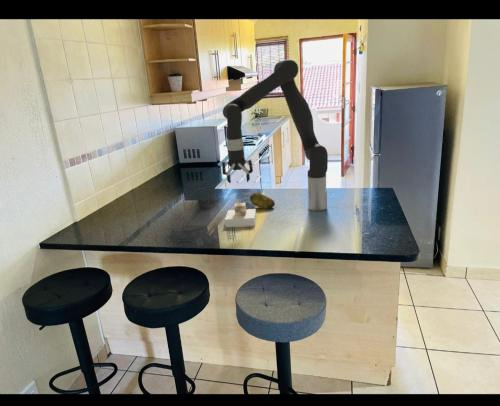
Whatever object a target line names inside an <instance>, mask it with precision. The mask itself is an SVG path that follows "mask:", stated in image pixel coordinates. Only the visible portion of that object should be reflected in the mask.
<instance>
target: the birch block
mask: <svg viewBox="0 0 500 406" xmlns="http://www.w3.org/2000/svg"><path fill="white" fill-rule="evenodd" d="M233 207H234V210H235V216H246V209H247V205H246V202H235V203H234V206H233Z"/></svg>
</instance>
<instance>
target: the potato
mask: <svg viewBox="0 0 500 406" xmlns="http://www.w3.org/2000/svg"><path fill="white" fill-rule="evenodd" d="M249 200H250V202H251V204H253V206H255V207H257V208H259V209H261V210H268V209H273V207H274V206H275V205H276V203H275V200H274V199H272V198H271V197H269V196H266V195H264V194H262V193H260V192H253V193H252V194H251V195H250V196H249Z"/></svg>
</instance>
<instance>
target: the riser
mask: <svg viewBox="0 0 500 406" xmlns="http://www.w3.org/2000/svg"><path fill="white" fill-rule="evenodd" d="M256 220H257V209H256V208H248V209H247V208H246V216H235V209H228V210H227V213H226V216H225V218H224V224H225V228H238V227H239V228H240V227H242V228H244V227H256Z"/></svg>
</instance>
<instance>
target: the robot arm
mask: <svg viewBox="0 0 500 406" xmlns="http://www.w3.org/2000/svg"><path fill="white" fill-rule="evenodd" d="M298 73H299V65H298V64H297V62H296V61H295V60H293V59H289V58H288V59H283V60H281V61H277V63H276V64H275V66H274V68H273V72H272V73H271V74H270V75H269V76H267V77H265V78H264V79H263V80H260V82H257V83H256V84H254V85H253V86H251V87H250V88H249V89H247V90H245V91H244V92H242V94H241V95H240V96H238V97H237V98H235V99H233V100H231V101H229V102H228V103H226V105H224V107H223V109H222V115H223V117H224V118H225V119H226V122H227V127H226V128H225V130H226V133H225V134H226V149H227V159H228V161H224V160H223V161H222V163H221V170H222V175H224V176H226V181H227V182H228V184H231V183H232V180H231V179H232V178H231V173H232V171H242V170H243V172H245V176H246V183H249V181H250V179H251V176H250V174H252V173H253V172H254V170H253V162H252V159H251V158H250V159H247V160H246V158H245V148H244V142H243V141H244V140H243V134H242V133H243V132H242V123H243V122H242V121H243V114H242V113H243V112H244V111H245V110H246V111H247V110H249V109H251V108H253V106H255V105H256V104H258V103H259V102H260V101H262V99H264V98H265V97H267V96H268V95H269V94H271V92H273V91H275V90H276V89H277V88H279V87H280V90H281V91H282V93H283V96H284V98H285V102H286V105H287V108H288V110H289V113H290V115H291V118H292V120H293V121H292V122H293V123H294V127H295V128H296V131H297V133H298V135H299V137H300V140H301V143H302V148H303V153H304V154H305V155H304V156H305V157H306V159H307V160H308V161H309V169H308V170H307V198H308V205H307V206H308V207H307V208H308V210H310V211H313V212H321V211H324V210H328V191H327V172H328V164H329V162H328V161H329V159H328V156H329V155H328V151H327V148H326V147H325V146H323V145H321V144H320V143H319V141H318V139H317V137H316V133H315V130H314V129H315V128H314V119H313V114H312V111H311V109H310V106H309V103H308V102H307V100H306V99H305V97H304V95H303V94H302V93H301V91H300V90H299V88H298V87H297V86H298V85H297V84H296V80H295V78H296V77H297V75H298ZM246 164H247V166H248V167H249V169H248V168H247V167H246ZM227 165H228V166H229V169H228V170H226V169H227V168H226V167H227Z"/></svg>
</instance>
